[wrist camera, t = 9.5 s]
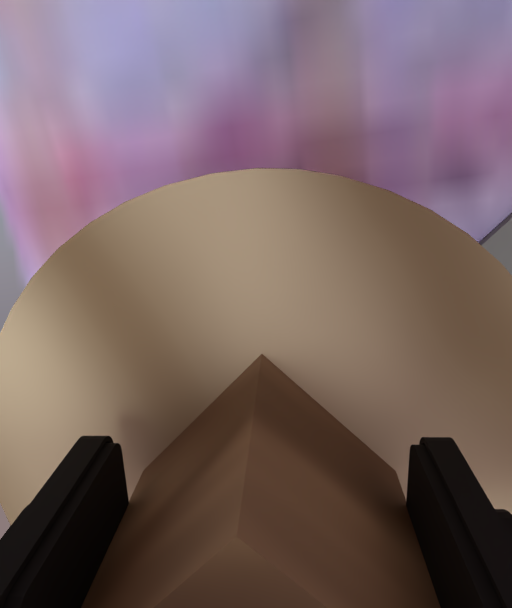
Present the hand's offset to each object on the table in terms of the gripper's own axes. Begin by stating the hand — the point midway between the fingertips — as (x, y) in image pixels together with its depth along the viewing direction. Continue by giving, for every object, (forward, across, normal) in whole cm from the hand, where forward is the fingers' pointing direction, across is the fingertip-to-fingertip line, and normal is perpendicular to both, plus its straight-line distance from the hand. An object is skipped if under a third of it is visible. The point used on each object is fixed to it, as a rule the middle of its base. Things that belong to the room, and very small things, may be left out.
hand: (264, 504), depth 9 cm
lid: (+2, 0, 0) cm, 2 cm away
